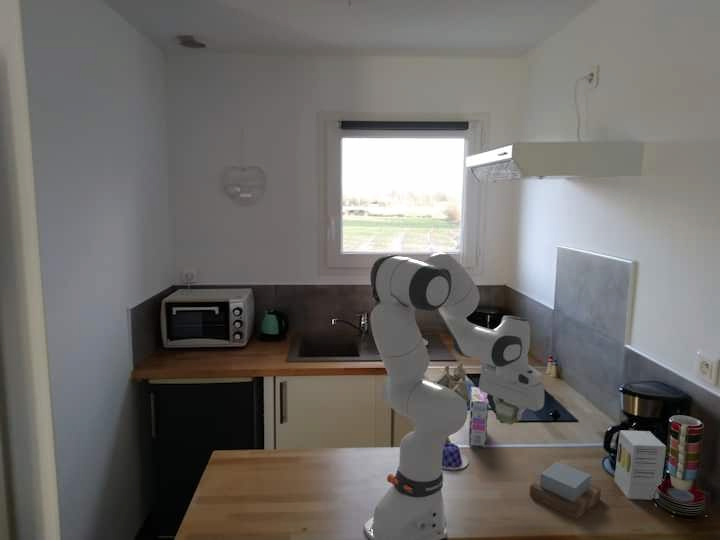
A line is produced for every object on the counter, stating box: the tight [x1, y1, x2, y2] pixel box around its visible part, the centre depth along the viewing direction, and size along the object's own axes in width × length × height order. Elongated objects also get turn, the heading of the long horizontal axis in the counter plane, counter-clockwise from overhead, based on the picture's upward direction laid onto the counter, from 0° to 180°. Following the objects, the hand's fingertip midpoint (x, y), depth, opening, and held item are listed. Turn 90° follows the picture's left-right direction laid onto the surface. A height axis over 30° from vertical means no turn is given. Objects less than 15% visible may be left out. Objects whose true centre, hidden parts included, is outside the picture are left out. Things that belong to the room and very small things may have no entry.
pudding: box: [442, 442, 469, 471], centre depth 168 cm, size 12×12×5 cm
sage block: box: [495, 399, 521, 426], centre depth 153 cm, size 5×5×5 cm
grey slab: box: [539, 461, 592, 502], centre depth 148 cm, size 10×10×4 cm
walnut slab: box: [529, 478, 602, 520], centre depth 149 cm, size 14×14×4 cm
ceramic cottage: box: [435, 362, 471, 402], centre depth 217 cm, size 16×16×15 cm
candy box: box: [468, 386, 489, 448], centre depth 183 cm, size 14×6×16 cm, turn 168°
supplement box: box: [613, 429, 667, 501], centre depth 152 cm, size 10×9×17 cm
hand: (508, 414), depth 154 cm, fingers closed on sage block, 5 cm apart
